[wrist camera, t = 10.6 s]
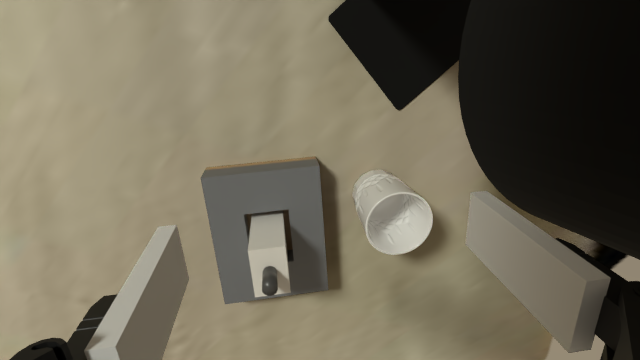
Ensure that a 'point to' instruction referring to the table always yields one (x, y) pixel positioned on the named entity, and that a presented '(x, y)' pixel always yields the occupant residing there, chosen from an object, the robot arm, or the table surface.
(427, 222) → the white cup
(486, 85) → the table lamp
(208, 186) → the socket box
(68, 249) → the table surface
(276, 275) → the plug
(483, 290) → the table surface
